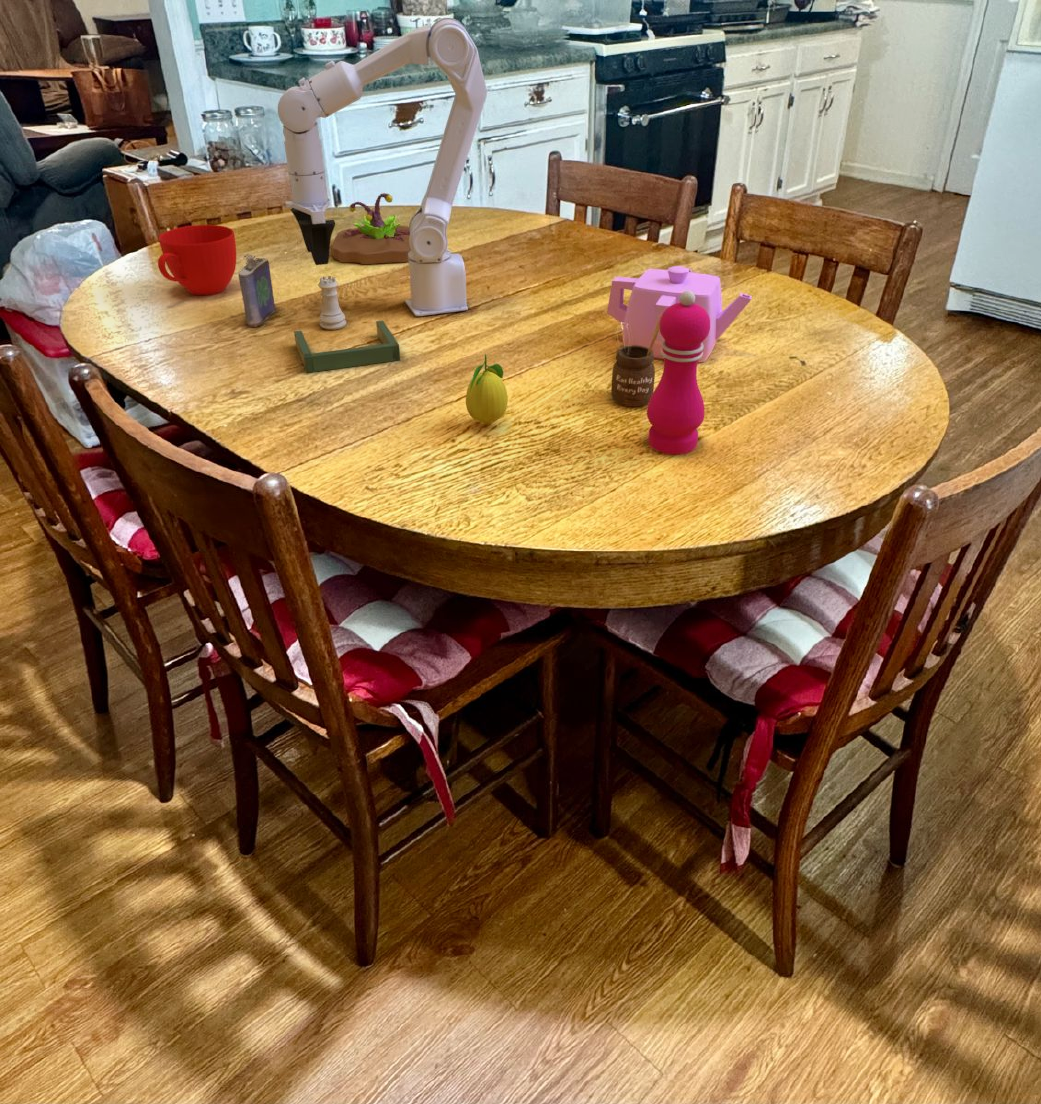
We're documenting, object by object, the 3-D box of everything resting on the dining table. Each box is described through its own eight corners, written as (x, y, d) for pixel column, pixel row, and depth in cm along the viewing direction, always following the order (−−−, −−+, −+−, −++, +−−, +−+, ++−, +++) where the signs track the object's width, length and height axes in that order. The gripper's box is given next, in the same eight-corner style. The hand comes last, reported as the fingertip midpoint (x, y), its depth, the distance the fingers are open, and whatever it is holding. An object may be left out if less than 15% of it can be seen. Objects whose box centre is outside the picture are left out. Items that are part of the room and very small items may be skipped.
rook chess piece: (351, 322, 152) (346, 275, 148) (338, 331, 149) (332, 284, 144) (328, 319, 153) (322, 272, 149) (314, 328, 150) (308, 281, 145)
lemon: (471, 439, 117) (469, 367, 112) (456, 421, 122) (453, 351, 116) (518, 430, 119) (518, 359, 114) (501, 412, 124) (501, 343, 118)
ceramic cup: (140, 303, 160) (126, 246, 155) (201, 275, 173) (190, 221, 168) (199, 312, 156) (187, 254, 151) (257, 283, 169) (248, 228, 164)
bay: (384, 334, 148) (383, 320, 146) (400, 360, 139) (399, 344, 138) (296, 346, 144) (293, 331, 142) (306, 373, 135) (304, 357, 134)
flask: (258, 327, 150) (247, 263, 144) (242, 327, 151) (230, 262, 145) (279, 309, 158) (268, 247, 152) (263, 308, 158) (252, 246, 152)
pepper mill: (639, 431, 119) (651, 281, 108) (693, 429, 119) (710, 280, 108) (650, 458, 113) (664, 302, 102) (706, 455, 114) (727, 300, 102)
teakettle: (598, 336, 147) (602, 260, 140) (685, 320, 153) (693, 246, 146) (655, 374, 134) (663, 293, 127) (747, 355, 140) (759, 276, 133)
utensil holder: (609, 389, 130) (614, 308, 123) (653, 390, 130) (660, 309, 123) (611, 407, 125) (616, 324, 118) (656, 407, 125) (664, 324, 118)
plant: (423, 264, 178) (419, 206, 172) (325, 264, 179) (317, 206, 172) (432, 236, 195) (429, 181, 188) (343, 236, 195) (336, 182, 189)
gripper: (275, 164, 148) (287, 247, 156) (287, 183, 137) (300, 272, 145) (318, 161, 150) (328, 243, 158) (333, 179, 139) (343, 267, 147)
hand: (317, 257), depth 151 cm, fingers open, 7 cm apart
